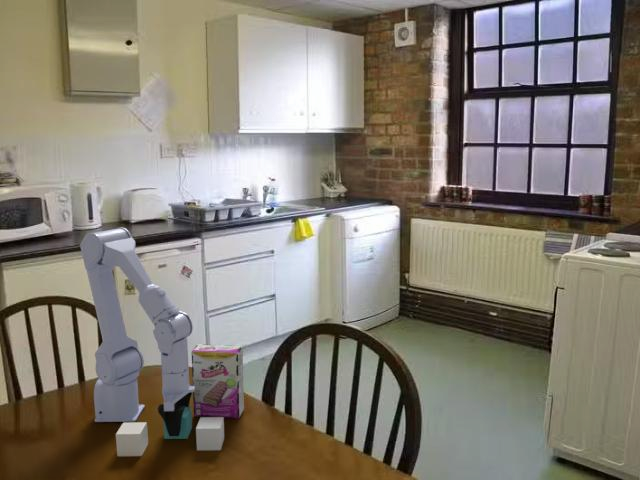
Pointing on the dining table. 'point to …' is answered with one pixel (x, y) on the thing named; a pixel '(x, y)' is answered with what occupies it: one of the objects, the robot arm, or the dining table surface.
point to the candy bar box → (218, 381)
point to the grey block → (210, 433)
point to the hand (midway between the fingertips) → (178, 426)
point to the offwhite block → (132, 439)
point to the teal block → (182, 426)
